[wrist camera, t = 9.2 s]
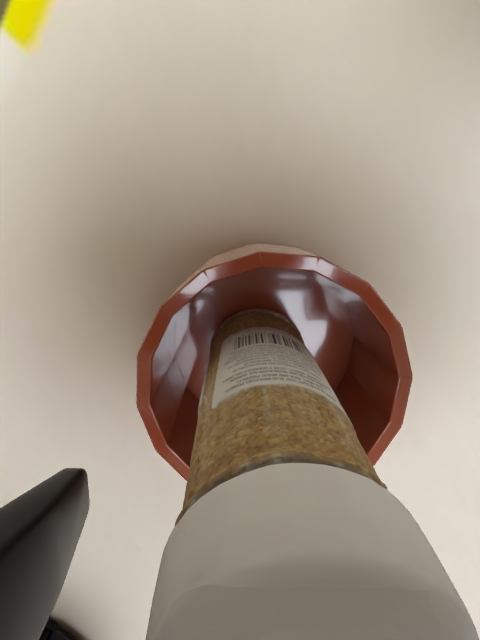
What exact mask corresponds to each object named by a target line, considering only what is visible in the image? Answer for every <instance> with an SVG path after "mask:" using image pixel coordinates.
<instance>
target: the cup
mask: <svg viewBox="0 0 480 640" xmlns="http://www.w3.org/2000/svg"><path fill="white" fill-rule="evenodd" d="M253 308H264V309H269V310H273V311H275V312H278V313H281V314H283V315H284V316H286V317H287V318H289V319H290V320H291V321H292V322H293V323H294V324H295V325H296V327H297V328H298V330H299V331H300V333H301V336H302V339H303V341H304V344H305V346H306V347H307V349H308V350H309V351H310V352H311V354H312V356H313V357H314V359H315V361H316V362H317V364H318V366H319V367H320V369H321V371H322V373H323V374H324V376H325V378H326V379H327V381H328V383H329V385H330V386H331V388H332V390H333V391H334V393H335V395H336V397H337V398H338V400H339V402H340V404H341V406H342V407H343V409H344V411H345V413H346V414H347V416H348V418H349V420H350V421H351V423H352V425H353V427H354V430H355V432H356V435H357V438H358V440H359V442H360V444H361V446H362V447H363V449H364V451H365V453H366V455H367V457H368V458H369V460H370V462H371V463H372V466H374V465H375V464H376V462H377V461H378V459H379V458H380V457H381V455H382V454H383V452H384V451H385V449H386V448H387V447H388V445H389V444H390V442H391V441H392V439H393V438H394V437H395V435H396V434H397V432H398V431H399V429H400V428H401V425H402V424H403V419H404V415H405V410H406V406H407V401H408V396H409V392H410V387H411V383H412V371H411V366H410V361H409V357H408V352H407V347H406V343H405V338H404V333H403V329H402V327H401V324H400V323H399V322H398V320H397V319H396V318H395V316H394V315H393V314H392V312H391V311H390V310H389V308H388V307H387V306H386V304H385V303H384V302H383V300H382V299H381V298H380V296H379V295H378V294H377V293H376V291H375V290H374V289H373V287H372V286H371V285H370V284H369V283H368V282H366V281H364V280H363V279H361V278H359V277H357V276H355V275H353V274H351V273H350V272H348V271H346V270H344V269H342V268H340V267H339V266H337V265H335V264H333V263H331V262H329V261H327V260H326V259H324V258H322V257H320V256H317V255H315V254H312V253H310V252H307V251H304V250H302V249H299V248H297V247H292V246H281V245H274V244H258V243H254V244H249V245H246V246H243V247H239V248H235V249H232V250H230V251H227V252H224V253H221V254H218V255H215V256H214V257H212V258H211V259H209V260H208V261H207V262H206V263H205V264H204V265H202V266H201V267H200V268H199V269H198V270H197V271H196V272H194V273H193V274H192V275H191V276H190V277H189V278H187V279H186V280H185V281H184V282H183V283H182V284H181V285H180V286H179V287H178V288H177V289H176V290H175V291H174V292H173V293H172V295H171V296H170V297H169V298H168V299H167V300H166V301H165V302H164V303H163V304H162V305H161V307H160V308H159V310H158V312H157V314H156V316H155V318H154V320H153V322H152V325H151V327H150V329H149V331H148V333H147V335H146V337H145V339H144V341H143V343H142V346H141V348H140V350H139V352H138V356H137V393H136V404H137V408H138V410H139V413H140V415H141V417H142V420H143V422H144V424H145V427H146V429H147V431H148V434H149V436H150V438H151V441H152V443H153V446H154V448H155V450H156V451H157V452H158V453H159V454H160V455H161V456H162V457H163V458H164V459H165V460H166V461H167V462H168V463H169V464H170V465H171V466H172V467H173V468H174V469H175V470H176V471H177V472H178V473H179V474H180V475H181V476H182V477H183V478H184V479H185V480H186V481H187V482H188V477H189V471H190V461H191V456H192V450H193V445H194V439H195V434H196V427H197V421H198V408H199V402H200V397H201V392H202V386H203V382H204V377H205V372H206V369H207V366H208V364H209V362H210V361H209V356H210V344H211V341H212V338H213V335H214V333H215V331H216V329H217V328H218V327H219V326H220V325H221V324H222V323H223V322H224V321H225V320H226V319H227V318H228V317H230V316H232V315H234V314H235V313H238V312H240V311H242V310H246V309H253Z"/></svg>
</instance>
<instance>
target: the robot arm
mask: <svg viewBox="0 0 480 640" xmlns="http://www.w3.org/2000/svg"><path fill="white" fill-rule="evenodd" d="M88 510H89V490H88V478H87V473H86V471H85V470H84V469H82V468H66V469H63V470H61V471H60V472H58V473H57V474H55V475H53V476H52V477H50V478H48V479H47V480H45V481H44V482H42V483H40V484H39V485H37V486H36V487H34V488H32V489H31V490H29V491H27V492H26V493H24V494H23V495H21V496H19V497H18V498H16V499H14V500H13V501H11V502H10V503H8V504H6V505H5V506H3V507H2V508H0V640H75V639H74V638H73V637H71V636H70V635H69V634H67V633H66V632H65V631H64V630H62V629H61V628H60V627H58V626H57V625H56V624H55V623H53V622H52V621H51V620H49V619H48V618H49V616H50V614H51V612H52V610H53V608H54V605H55V603H56V601H57V598H58V596H59V594H60V591H61V589H62V586H63V583H64V580H65V578H66V575H67V572H68V569H69V566H70V563H71V560H72V558H73V555H74V552H75V549H76V546H77V543H78V540H79V537H80V535H81V532H82V529H83V526H84V523H85V520H86V517H87V514H88Z"/></svg>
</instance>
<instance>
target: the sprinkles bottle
mask: <svg viewBox="0 0 480 640" xmlns="http://www.w3.org/2000/svg"><path fill="white" fill-rule="evenodd" d="M209 361H210V362H209V364H208V366H207V369H206V372H205V377H204V382H203V386H202V392H201V397H200V402H199V408H198V421H197V427H196V434H195V439H194V445H193V450H192V456H191V461H190V471H189V477H188V482H187V486H186V492H185V498H184V503H183V509H182V511H181V513H180V514H179V516H178V518H177V520H176V523H175V528H174V529H173V531H172V533H171V535H170V537H169V539H168V541H167V544H166V546H165V548H164V551H163V555H162V559H161V564H160V568H159V573H158V578H157V582H156V587H155V591H154V596H153V601H152V607H151V613H150V618H149V624H148V630H147V635H146V640H479V638H478V635H477V631H476V628H475V626H474V624H473V622H472V619H471V617H470V615H469V613H468V611H467V609H466V607H465V605H464V603H463V601H462V599H461V598H460V596H459V594H458V592H457V591H456V589H455V587H454V585H453V583H452V582H451V580H450V578H449V576H448V575H447V573H446V571H445V569H444V567H443V566H442V564H441V562H440V561H439V559H438V557H437V555H436V554H435V552H434V550H433V548H432V547H431V545H430V543H429V542H428V540H427V538H426V537H425V535H424V533H423V532H422V530H421V528H420V527H419V525H418V524H417V522H416V521H415V519H414V518H413V516H412V515H411V513H410V512H409V511H408V510H407V509H406V507H405V506H404V505H403V504H402V503H401V502H400V501H399V500H398V499H397V498H396V497H395V496H394V495H392V494H391V493H390V492H389V491H388V490H387V487H386V485H385V484H384V483H382V482H381V480H380V479H379V477H378V476H377V474H376V472H375V470H374V468H373V466H372V463H371V462H370V460H369V458H368V457H367V455H366V453H365V451H364V449H363V447H362V446H361V444H360V442H359V440H358V438H357V435H356V432H355V430H354V427H353V425H352V423H351V421H350V420H349V418H348V416H347V414H346V413H345V411H344V409H343V407H342V406H341V404H340V402H339V400H338V398H337V397H336V395H335V393H334V391H333V390H332V388H331V386H330V385H329V383H328V381H327V379H326V378H325V376H324V374H323V373H322V371H321V369H320V367H319V366H318V364H317V362H316V361H315V359H314V357H313V356H312V354H311V352H310V351H309V350H308V349H307V347H306V346H305V344H304V341H303V339H302V336H301V333H300V331H299V330H298V328H297V327H296V325H295V324H294V323H293V322H292V321H291V320H290V319H289V318H287V317H286V316H284V315H283V314H281V313H278V312H275V311H273V310H269V309H264V308H253V309H246V310H242V311H240V312H238V313H235V314H234V315H232V316H230V317H228V318H227V319H226V320H225V321H224V322H223V323H222V324H221V325H220V326H219V327H218V328H217V329H216V331H215V333H214V335H213V338H212V341H211V344H210V356H209Z"/></svg>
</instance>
